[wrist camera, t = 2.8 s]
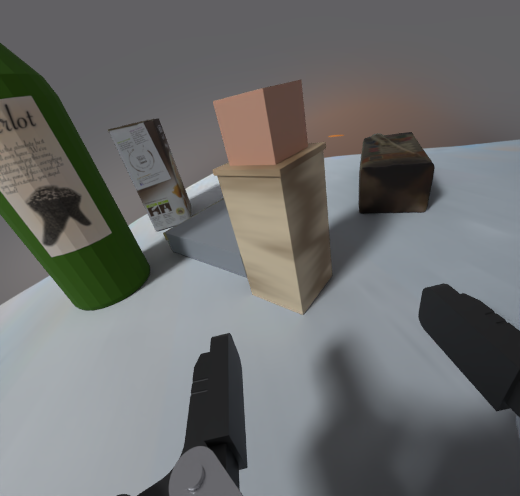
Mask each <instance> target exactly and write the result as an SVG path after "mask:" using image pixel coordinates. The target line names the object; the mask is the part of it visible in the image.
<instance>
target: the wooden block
mask: <svg viewBox="0 0 520 496" xmlns="http://www.w3.org/2000/svg"><path fill="white" fill-rule="evenodd" d="M325 148H326V143H325V142H324V143H311V144H308V147H307V148H305V149H303V150H301V151H299V152H298V153H296V154H294V155H292V156H291V157H289V158H287V159H285V160H283V161H282V162H280V163H278V164H276V165H240V166H230V164H229V163H227V164H224V165H222V166H220V167H218V168H216V169H213V173H214V176H218V180H219V183H220V187H221V190H222V193H223V197H224V200H225V203H226V207H227V210H228V213H229V217H230V220H231V224H232V227H233V230H234V234H235V237H236V240H237V244H238V247H239V250H240V254H241V257H242V261H243V264H244V267H245V271H246V274H247V277H248V281H249V284H250V287H251V291H252V294H253V295H255V296H257V297H260V298H262V299H265V300H267V301H269V302H272V303H274V304H277V305H279V306H282V307H284V308H287V309H289V310H292V311H294V312H297V313H299V314H302V315H304V313H305V312H306V311H307V309H308V308H309V307H310V305H311V304H312V302H313V301H314V300H315V298H316V297H317V296H318V294H319V293H320V292H321V290H322V289H323V288H324V286H325V285H326V283H327V282H328V281H329V279H330V278H331V277H332V265H331V251H330V238H329V224H328V210H327V196H326V182H325V168H324V155H323V150H324V149H325Z"/></svg>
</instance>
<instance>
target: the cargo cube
mask: <svg viewBox="0 0 520 496" xmlns="http://www.w3.org/2000/svg"><path fill="white" fill-rule="evenodd" d="M213 104H214V107H215V111H216V115H217V119H218V122H219V126H220V130H221V134H222V138H223V141H224V145H225V149H226V153H227V156H228V160H229V164H230V166H240V165H276V164H278V163H280V162H282V161H283V160H285V159H287V158H289V157H291V156H292V155H294V154H296V153H298V152H299V151H301V150H303V149H305V148H307V147H308V143H307V132H306V122H305V112H304V102H303V92H302V83H301V80H298V81H293V82H289V83H284V84H280V85H275V86H270V87H266V88H262V89H258V90H254V91H251V92H246V93H243V94H239V95H235V96H231V97H227V98H224V99H220V100H216V101H213Z"/></svg>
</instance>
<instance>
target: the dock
mask: <svg viewBox="0 0 520 496" xmlns="http://www.w3.org/2000/svg"><path fill="white" fill-rule="evenodd" d="M163 234H164V236H165V239H166V240H168V242H169V244H170V246H171V249H172V251H173V252H176V253H179V254H182V255H184V256H187V257H190V258H193V259H196V260H199V261H201V262H204V263H207V264H210V265H213V266H216V267H219V268H221V269H224V270H227V271H230V272H233V273H236V274H238V275H241V276H244V277H247V274H246V271H245V267H244V264H243V261H242V257H241V254H240V250H239V247H238V244H237V240H236V237H235V234H234V230H233V227H232V224H231V220H230V217H229V213H228V210H227V207H226V203H225V200H224V198H223V199H222V200H220V201H218V202H217V203H215V204H213V205H211V206H210V207H208V208H206V209H204V210H203V211H201V212H199V213H197V214H196V215H194V216H192V217H190V218H189V219H187V220H185V221H183V222H182V223H180V224H178V225H176V226H175V227H173V228H171V229H169V230H168V231H166V232H164V233H163Z"/></svg>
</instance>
